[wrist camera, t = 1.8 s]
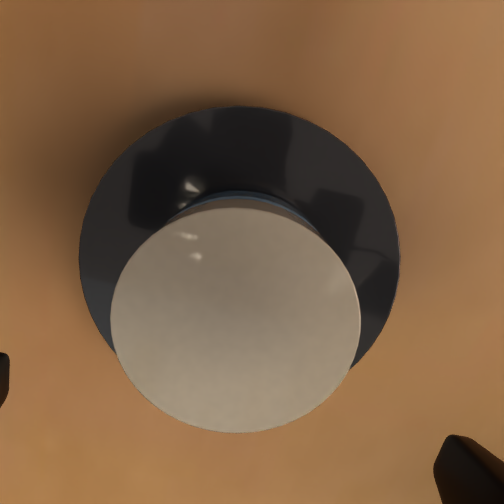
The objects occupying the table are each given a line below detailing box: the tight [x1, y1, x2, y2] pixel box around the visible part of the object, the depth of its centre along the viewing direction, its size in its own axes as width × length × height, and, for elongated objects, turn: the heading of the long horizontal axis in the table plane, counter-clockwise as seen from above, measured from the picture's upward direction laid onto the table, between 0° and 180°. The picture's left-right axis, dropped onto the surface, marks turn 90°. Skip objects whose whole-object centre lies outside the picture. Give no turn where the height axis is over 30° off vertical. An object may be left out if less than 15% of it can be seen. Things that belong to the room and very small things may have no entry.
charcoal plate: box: [79, 106, 401, 371], centre depth 15 cm, size 13×13×1 cm
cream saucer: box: [110, 199, 361, 433], centre depth 11 cm, size 7×7×2 cm
